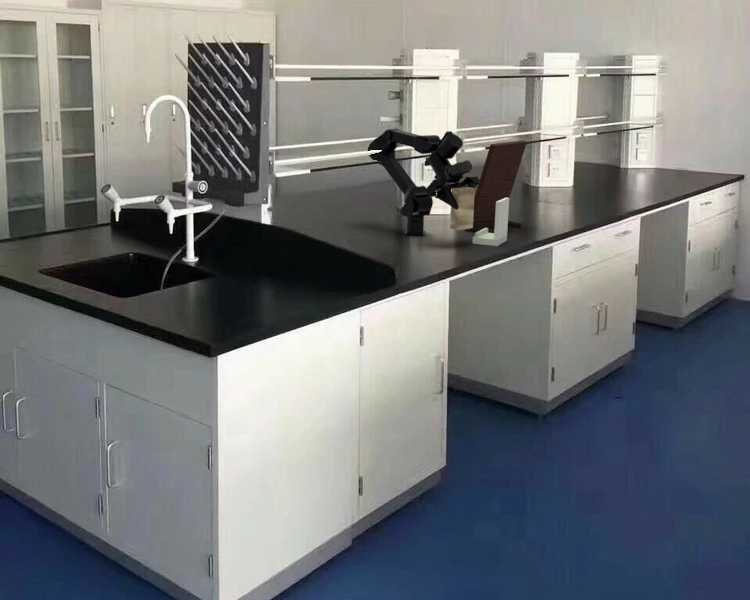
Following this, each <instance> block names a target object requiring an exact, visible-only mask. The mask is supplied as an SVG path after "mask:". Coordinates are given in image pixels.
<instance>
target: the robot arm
mask: <svg viewBox="0 0 750 600" xmlns="http://www.w3.org/2000/svg"><path fill="white" fill-rule="evenodd" d="M398 144H400V145H404V146H407V147H410V148H413V150H414V151H416V152H417V153H418V154H420V155H426V154H429V156H426V157H425V161H424V166H425V167H428V166H429V167H431V169H432V171H433V172H434V174H435V175H434V176H433V178H434V179H432V181H431V183H429V185H428V186H427V187H426V186H424V185H422V186H421V185H420V186H419V185H418V186H417V185H416V184H415V182H414V181H413V180H412V178H411V177H410V176H409V174H408V173H407V172H406V170H405V169H404V167H403V166H402V164H401V163H400V162H399V161H398V159H397V158H396V150H397V148H398ZM463 144H464V141H463V140H462V138H460V136H459V135H457V134H455V133H453V132H452V131H449V130H447V131H445V133H444V135H443V137H440V136H439V135H436V134H431V135H429V134H427V135H419V134H416V133H412V132H407V131H404V130H400V129H398V128H392V129H391V128H389V129H386V130H385V131H384V132H383V133H382V134H381V135H379V136H377V137H375V138H374V139H373V140H372V141H371V142H370V143H369V145H368V147H367V152H368V151H370V150H382V151H381V152H379V153H375V154H371V155H368V156H369V158H370V159H371V160H372V161H374V160H377V161H382V163H377V164H379V165H380V166H382V167H383V168H384V169H385V170H386V172H387V174H389V176H390V177H391V179H392V180H393V181H394V183H395V184H396V185H397V187H398V188H399V190H400V191H401V192H402V193H403V195H404V197H403V201H404V205H403V206H402V207H401V208H400V213H401V216H402V217H406V230H405V232H404V235H406V236H425V234H426V230H424V229H425V227H424V226H425V224H424V223H425V216H430V214H431V211H432V208H433V204H434V201H433V198H434V197H435V199H438V200H440V201H441V202H443V203H445V204H447V205H449V206H450V208H451V207H453V208H454V209H456V210H457V209H458V208H459V207H458V204H457V202H456V200H455V198H454V196H453V194H452V188H461V187H470V188H475V189H476V187H478V184H479V183H480V178H479V177H478V176H477V175H471V176H469V175H468V176H466V177H465V178H464V175H465V174H468V173H471V171H472V170H473V165H472V163H471V161H470V160H468V159H466V160H464V161H461V162H456V163H454V164H451V161H450V159H453V158H454V157H455V156H456V154H457V153H458V152H459V151H460V149H461V148H462V147H463ZM463 178H464V179H463ZM462 179H463V181H461V180H462ZM474 206H475V205H474Z"/></svg>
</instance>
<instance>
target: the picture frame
mask: <svg viewBox="0 0 750 600" xmlns="http://www.w3.org/2000/svg"><path fill="white" fill-rule="evenodd" d="M527 144H528V141H526V140H524V139H523V140H516V141H515V140H513V141H507V142H505V141H504V142H497V143H490V145H489V148H488V152H487V155H486V158H485V162H484V165H483V168H482V172H481V174H480V178H479V180H480V183H479V184H478V185H477V188H476V191H475V194H474V205H475V206H474V214H473V228H469V229H464V230H465V231H467V232H472V231H474V232H478V231H480V230H482V229H484V228H488V233H494V229H492V228H490V227H492V226H493V227H494V226H495V211H496V202H497V201H499V200H501V199H504V198H509V199H510V197H511V194H512V191H513V187H514V184H515V181H516V180H517V179H516V177H517V176H518V173H519V169H520V165H521V163H522V159H523V157H524V153H525V150H526V148H527ZM508 226H512V227H518V228H522V227H523V223H522V222H518V221H510V220H508Z"/></svg>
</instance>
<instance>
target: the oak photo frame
mask: <svg viewBox="0 0 750 600" xmlns="http://www.w3.org/2000/svg"><path fill="white" fill-rule="evenodd" d="M475 189H476V187H475V188H470V187H461V188H452V189H451V192H452V194H453V196H454V198H455V200H456V202H457V204H458V207H459V208H458V209H457V210H456V209H454V208H453V207H451V206H450V218H449V219H450V220H449V224H450V225H449V228H450V229H452V230H456V231H460V230H462V231H463V230H465V229H469V228H473V214H474V197H475V194H476V191H475Z"/></svg>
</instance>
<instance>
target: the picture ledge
mask: <svg viewBox="0 0 750 600" xmlns="http://www.w3.org/2000/svg"><path fill="white" fill-rule="evenodd" d="M509 209H510V197H509V198H504V199H501V200H499V201H497V202H496V211H495V225H494V229H493V230H494V233H488V229H489V227H485V228H484V229H482V230H480V231H475V233H474V236H473V237H472V245H482V246H483V245H484V246H491V247H498V246H500V245H502V244H503V243H506V242H507V241H508V227H509V225H508V221H509Z"/></svg>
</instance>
